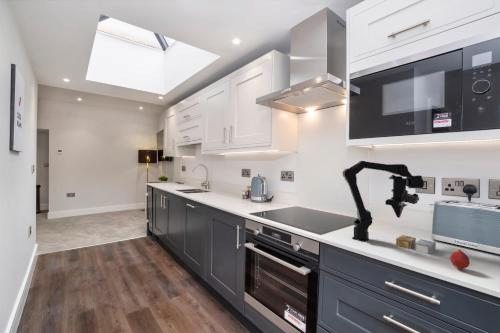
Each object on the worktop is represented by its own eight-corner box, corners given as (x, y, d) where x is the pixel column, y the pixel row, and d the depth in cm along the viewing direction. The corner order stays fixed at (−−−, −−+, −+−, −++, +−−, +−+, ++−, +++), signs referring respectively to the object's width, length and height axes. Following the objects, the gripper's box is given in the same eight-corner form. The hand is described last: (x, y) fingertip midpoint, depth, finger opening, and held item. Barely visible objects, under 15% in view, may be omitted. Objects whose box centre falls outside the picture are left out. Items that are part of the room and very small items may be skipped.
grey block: (414, 242, 113) (421, 239, 119) (414, 251, 114) (420, 247, 119) (429, 246, 109) (435, 242, 114) (429, 255, 109) (435, 250, 115)
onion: (449, 265, 98) (450, 245, 98) (468, 269, 94) (469, 249, 94) (449, 269, 93) (450, 249, 93) (469, 274, 90) (470, 253, 89)
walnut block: (396, 238, 120) (402, 234, 126) (395, 246, 120) (402, 242, 126) (410, 241, 115) (415, 237, 121) (409, 249, 115) (415, 245, 121)
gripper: (410, 190, 113) (409, 223, 114) (423, 188, 125) (422, 218, 125) (385, 188, 122) (384, 218, 122) (400, 186, 134) (399, 214, 134)
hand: (398, 217), depth 126 cm, fingers closed
